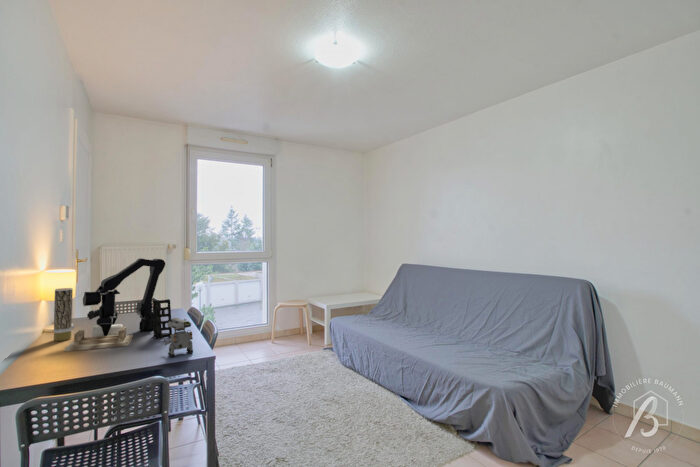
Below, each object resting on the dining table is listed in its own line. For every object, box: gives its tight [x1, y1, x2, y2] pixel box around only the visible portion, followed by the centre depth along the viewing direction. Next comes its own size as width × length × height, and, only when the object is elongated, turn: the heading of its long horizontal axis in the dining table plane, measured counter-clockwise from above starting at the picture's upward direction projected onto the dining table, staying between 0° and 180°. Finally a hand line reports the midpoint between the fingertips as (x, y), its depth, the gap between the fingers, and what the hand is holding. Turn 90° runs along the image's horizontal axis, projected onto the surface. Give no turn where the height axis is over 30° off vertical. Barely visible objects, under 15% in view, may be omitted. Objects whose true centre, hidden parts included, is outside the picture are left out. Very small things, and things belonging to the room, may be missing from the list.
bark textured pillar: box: [53, 287, 73, 342], centre depth 175 cm, size 7×7×25 cm
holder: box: [152, 297, 173, 339], centre depth 181 cm, size 11×8×20 cm
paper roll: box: [91, 323, 124, 337], centre depth 181 cm, size 12×6×6 cm, turn 114°
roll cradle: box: [64, 326, 134, 352], centre depth 168 cm, size 24×14×6 cm, turn 114°
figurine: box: [163, 317, 194, 358], centre depth 156 cm, size 9×12×15 cm
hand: (107, 334), depth 181 cm, fingers open, 9 cm apart
